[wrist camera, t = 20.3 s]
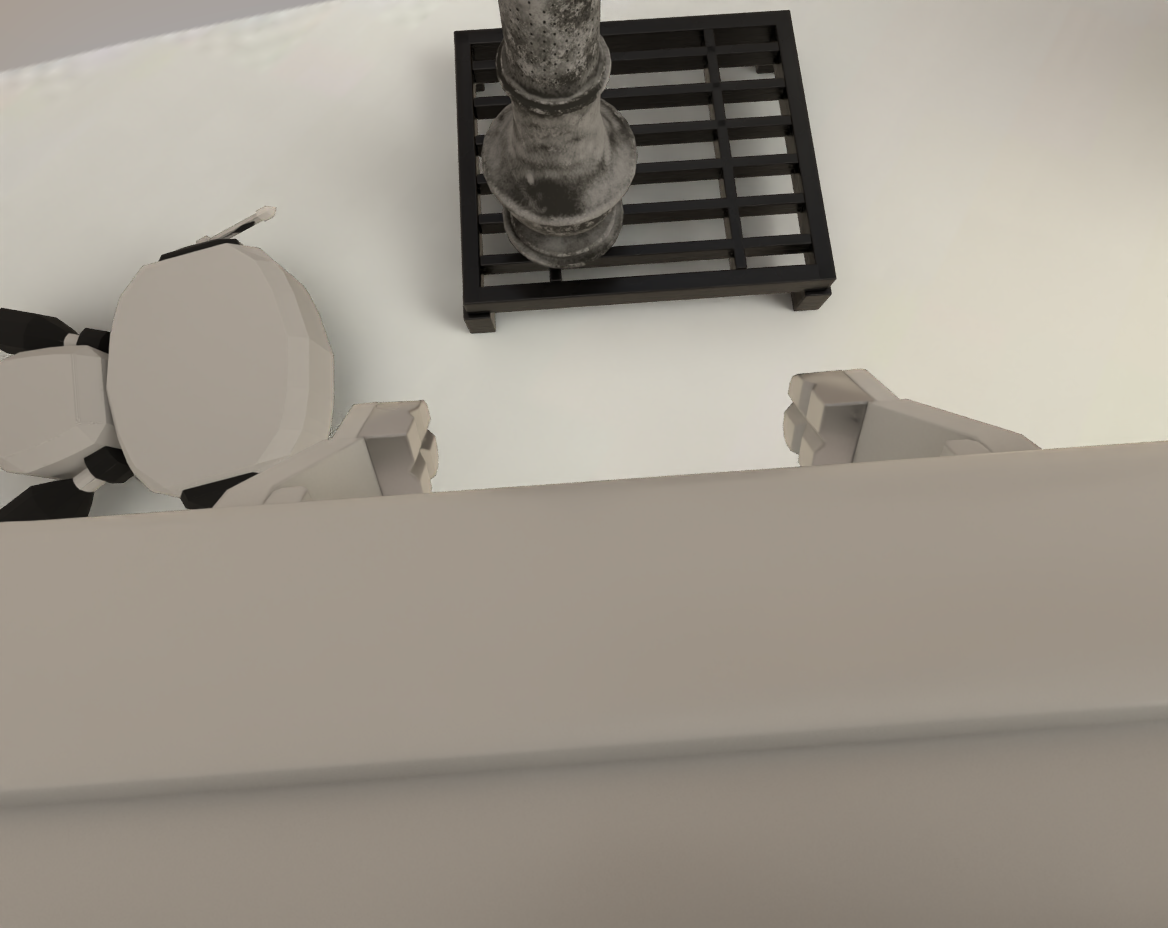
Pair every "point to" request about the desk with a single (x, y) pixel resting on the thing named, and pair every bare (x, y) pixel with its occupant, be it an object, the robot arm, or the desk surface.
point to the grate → (665, 169)
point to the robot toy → (167, 383)
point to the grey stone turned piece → (557, 135)
